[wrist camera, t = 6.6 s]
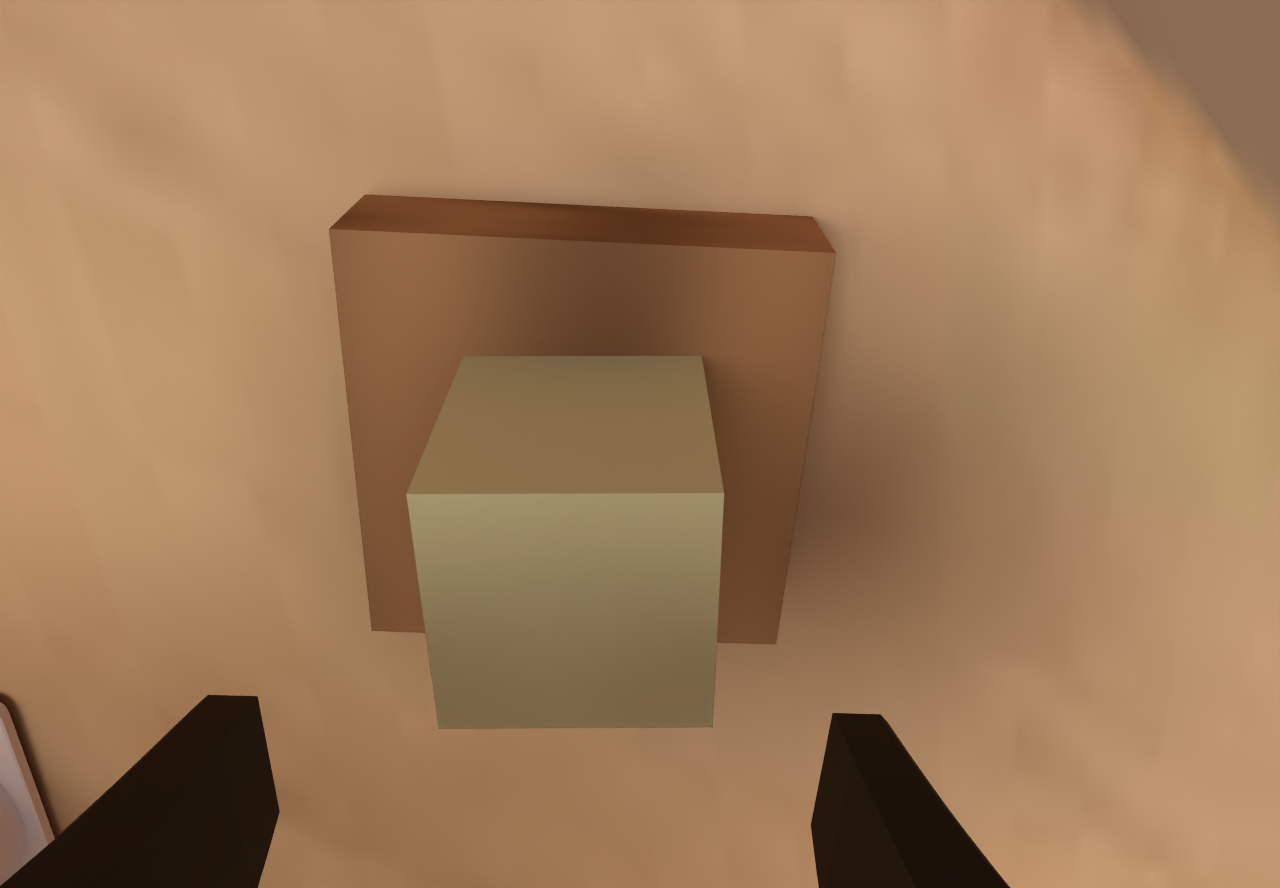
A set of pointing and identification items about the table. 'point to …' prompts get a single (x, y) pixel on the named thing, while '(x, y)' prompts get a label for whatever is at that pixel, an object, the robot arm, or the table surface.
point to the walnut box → (583, 352)
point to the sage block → (571, 543)
